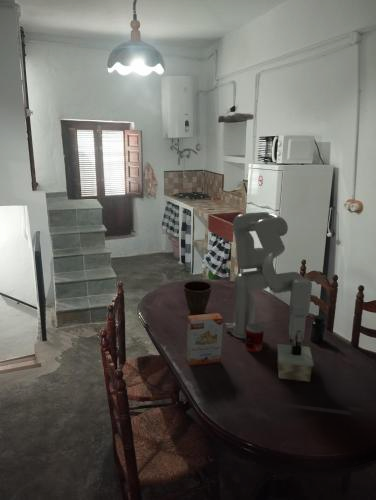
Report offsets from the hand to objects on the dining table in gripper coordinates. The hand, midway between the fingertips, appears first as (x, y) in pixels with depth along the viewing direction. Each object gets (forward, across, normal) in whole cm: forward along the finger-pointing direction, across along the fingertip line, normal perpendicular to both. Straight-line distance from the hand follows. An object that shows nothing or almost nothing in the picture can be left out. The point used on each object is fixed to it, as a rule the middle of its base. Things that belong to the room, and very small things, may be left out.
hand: (295, 348), depth 155 cm
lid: (+3, 0, 0) cm, 3 cm away
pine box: (+11, 0, 0) cm, 11 cm away
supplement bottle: (+12, -31, +14) cm, 36 cm away
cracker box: (+12, -2, -37) cm, 39 cm away
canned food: (+12, -16, -16) cm, 25 cm away
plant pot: (+12, -49, -47) cm, 69 cm away
